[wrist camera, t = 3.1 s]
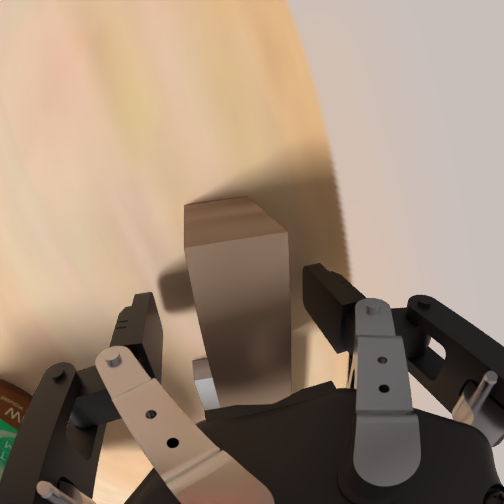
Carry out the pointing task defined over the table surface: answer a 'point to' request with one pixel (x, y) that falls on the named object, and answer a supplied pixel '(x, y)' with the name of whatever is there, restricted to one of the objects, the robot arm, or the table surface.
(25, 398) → the food container
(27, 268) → the table surface
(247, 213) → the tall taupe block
